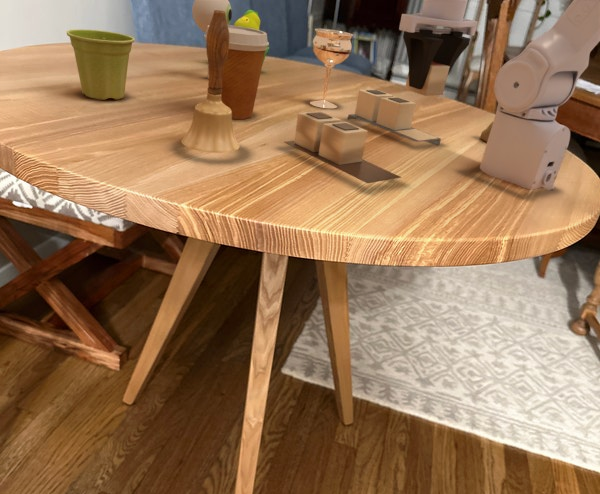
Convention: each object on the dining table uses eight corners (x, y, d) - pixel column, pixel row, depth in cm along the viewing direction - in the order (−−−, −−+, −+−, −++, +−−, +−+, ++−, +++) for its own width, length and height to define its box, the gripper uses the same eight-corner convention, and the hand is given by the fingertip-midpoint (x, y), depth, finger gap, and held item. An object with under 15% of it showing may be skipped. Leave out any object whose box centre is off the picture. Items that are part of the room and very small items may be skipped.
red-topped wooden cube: (442, 95, 83) (450, 65, 81) (425, 96, 81) (432, 65, 79) (422, 88, 86) (428, 59, 83) (404, 89, 83) (411, 59, 81)
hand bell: (248, 146, 75) (259, 13, 67) (237, 166, 68) (248, 19, 60) (186, 137, 75) (190, 2, 67) (169, 155, 68) (170, 7, 60)
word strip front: (400, 184, 70) (409, 143, 67) (365, 191, 66) (374, 148, 64) (316, 145, 80) (321, 108, 77) (282, 148, 76) (287, 110, 73)
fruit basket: (205, 63, 122) (208, 4, 116) (235, 61, 128) (239, 6, 122) (243, 75, 116) (248, 14, 110) (272, 72, 122) (278, 15, 116)
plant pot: (87, 85, 92) (83, 26, 87) (144, 94, 91) (143, 36, 87) (59, 97, 84) (54, 33, 79) (122, 107, 83) (120, 43, 79)
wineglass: (303, 98, 105) (313, 27, 98) (339, 102, 105) (351, 32, 99) (305, 106, 99) (315, 31, 93) (343, 111, 100) (356, 37, 93)
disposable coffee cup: (273, 121, 88) (281, 37, 81) (216, 122, 83) (221, 33, 76) (244, 105, 94) (250, 26, 88) (191, 105, 89) (193, 22, 83)
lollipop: (221, 84, 105) (226, -6, 97) (184, 78, 106) (186, -13, 98) (232, 78, 111) (238, -8, 103) (198, 72, 112) (200, -14, 104)
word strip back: (439, 144, 89) (448, 111, 86) (414, 148, 85) (423, 113, 82) (372, 118, 98) (378, 87, 95) (347, 120, 94) (352, 88, 92)
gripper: (458, -18, 83) (435, 80, 90) (392, -28, 74) (371, 81, 81) (499, -12, 78) (471, 91, 85) (434, -21, 70) (408, 93, 77)
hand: (425, 87), depth 83 cm, fingers closed on red-topped wooden cube, 4 cm apart
